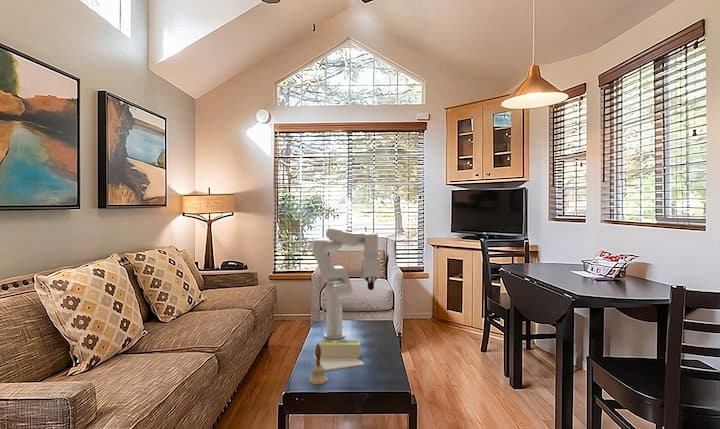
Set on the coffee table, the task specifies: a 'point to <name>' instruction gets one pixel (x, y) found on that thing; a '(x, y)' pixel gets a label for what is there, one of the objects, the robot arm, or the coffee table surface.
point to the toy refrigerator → (340, 348)
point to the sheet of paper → (338, 362)
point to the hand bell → (318, 369)
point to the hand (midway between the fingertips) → (370, 289)
